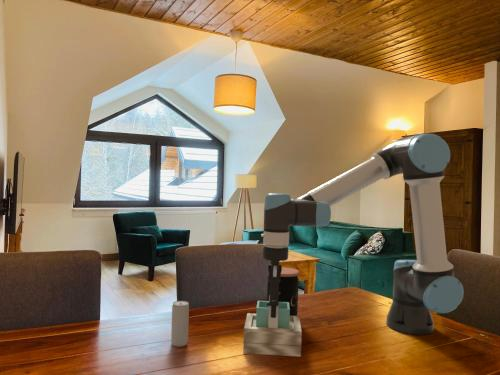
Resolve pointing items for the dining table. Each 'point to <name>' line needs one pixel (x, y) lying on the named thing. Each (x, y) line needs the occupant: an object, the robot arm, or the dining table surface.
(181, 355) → the dining table surface
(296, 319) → the beige crate
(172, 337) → the beverage can
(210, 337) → the dining table surface
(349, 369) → the dining table surface
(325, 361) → the dining table surface
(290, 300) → the coffee jar
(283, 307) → the teal crate
